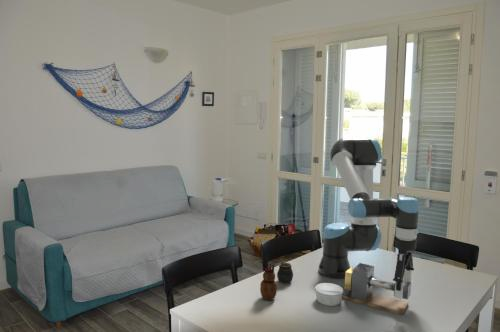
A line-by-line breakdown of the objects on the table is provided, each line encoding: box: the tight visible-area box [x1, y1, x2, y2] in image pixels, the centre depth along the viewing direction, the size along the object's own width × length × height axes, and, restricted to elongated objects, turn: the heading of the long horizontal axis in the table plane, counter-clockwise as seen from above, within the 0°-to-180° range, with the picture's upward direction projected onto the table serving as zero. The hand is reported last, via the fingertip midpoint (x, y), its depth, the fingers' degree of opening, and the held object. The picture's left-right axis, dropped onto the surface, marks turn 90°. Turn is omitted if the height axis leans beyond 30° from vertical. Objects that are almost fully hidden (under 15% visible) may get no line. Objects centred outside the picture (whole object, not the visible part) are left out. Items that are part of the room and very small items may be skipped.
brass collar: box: [344, 266, 355, 290], centre depth 163 cm, size 2×7×7 cm, turn 146°
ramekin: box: [314, 282, 343, 307], centre depth 158 cm, size 11×11×5 cm
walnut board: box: [341, 286, 409, 316], centre depth 159 cm, size 26×10×1 cm, turn 56°
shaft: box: [368, 277, 412, 300], centre depth 157 cm, size 25×5×5 cm, turn 56°
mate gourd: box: [276, 257, 294, 285], centre depth 176 cm, size 7×8×10 cm
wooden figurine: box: [259, 262, 278, 301], centre depth 159 cm, size 7×6×15 cm
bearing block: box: [351, 262, 375, 301], centre depth 160 cm, size 6×9×12 cm, turn 146°
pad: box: [342, 288, 352, 297], centre depth 164 cm, size 5×9×1 cm, turn 146°
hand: (402, 292), depth 151 cm, fingers open, 13 cm apart
